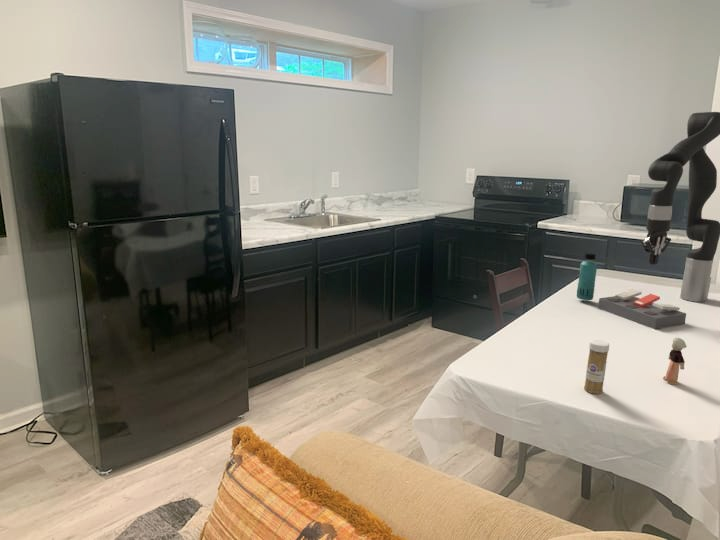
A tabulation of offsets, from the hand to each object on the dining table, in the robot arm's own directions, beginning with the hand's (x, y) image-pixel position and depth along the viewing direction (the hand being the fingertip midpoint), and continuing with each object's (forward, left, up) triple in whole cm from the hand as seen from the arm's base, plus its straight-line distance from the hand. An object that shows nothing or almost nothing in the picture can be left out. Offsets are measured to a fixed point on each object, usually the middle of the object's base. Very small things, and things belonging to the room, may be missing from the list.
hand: (653, 264), depth 197 cm
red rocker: (+2, +1, -14) cm, 14 cm away
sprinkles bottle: (+68, +41, -19) cm, 82 cm away
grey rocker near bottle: (+2, -7, -14) cm, 16 cm away
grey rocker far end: (+2, +9, -14) cm, 17 cm away
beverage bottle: (+10, -20, -19) cm, 30 cm away
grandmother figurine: (+44, +45, -19) cm, 66 cm away
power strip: (+4, +1, -19) cm, 20 cm away
